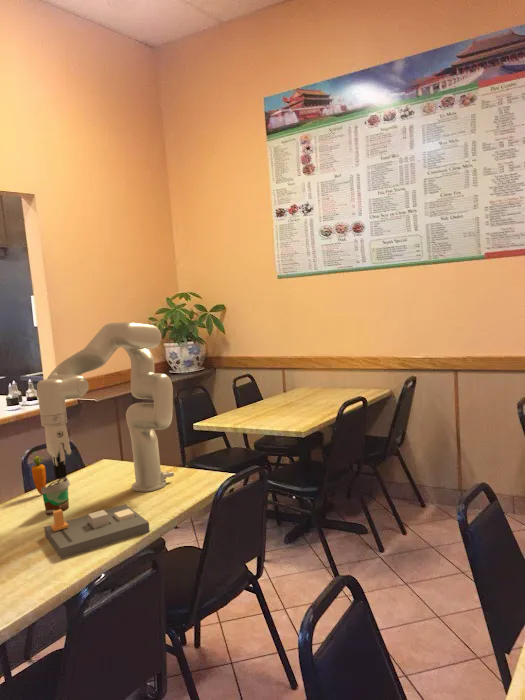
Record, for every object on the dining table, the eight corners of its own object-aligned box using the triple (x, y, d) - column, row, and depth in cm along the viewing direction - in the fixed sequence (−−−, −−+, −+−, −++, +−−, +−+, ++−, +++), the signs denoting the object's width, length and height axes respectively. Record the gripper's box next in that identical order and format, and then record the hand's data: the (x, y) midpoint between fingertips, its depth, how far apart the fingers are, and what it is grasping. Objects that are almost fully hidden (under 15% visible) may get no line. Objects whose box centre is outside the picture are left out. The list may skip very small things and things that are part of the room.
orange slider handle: (65, 523, 180) (63, 507, 180) (68, 527, 177) (66, 510, 177) (50, 527, 178) (48, 511, 177) (53, 531, 175) (51, 514, 174)
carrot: (36, 493, 222) (32, 454, 220) (50, 491, 222) (45, 453, 221) (32, 497, 217) (27, 458, 216) (46, 496, 218) (41, 457, 216)
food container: (60, 516, 196) (57, 487, 195) (44, 516, 197) (40, 487, 196) (79, 502, 208) (75, 475, 207) (63, 502, 209) (60, 475, 208)
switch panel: (126, 513, 194) (125, 504, 194) (149, 531, 177) (148, 521, 177) (45, 536, 180) (44, 526, 180) (61, 558, 163) (60, 548, 163)
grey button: (104, 522, 182) (103, 509, 182) (109, 526, 178) (108, 514, 178) (89, 526, 180) (87, 514, 179) (94, 531, 176) (92, 518, 175)
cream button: (130, 520, 187) (128, 508, 186) (135, 525, 183) (134, 512, 182) (115, 525, 184) (114, 512, 184) (120, 529, 180) (119, 517, 180)
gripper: (73, 420, 176) (80, 479, 178) (59, 413, 188) (66, 469, 190) (47, 425, 172) (55, 486, 173) (35, 418, 184) (42, 475, 186)
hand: (60, 477), depth 182 cm, fingers closed
